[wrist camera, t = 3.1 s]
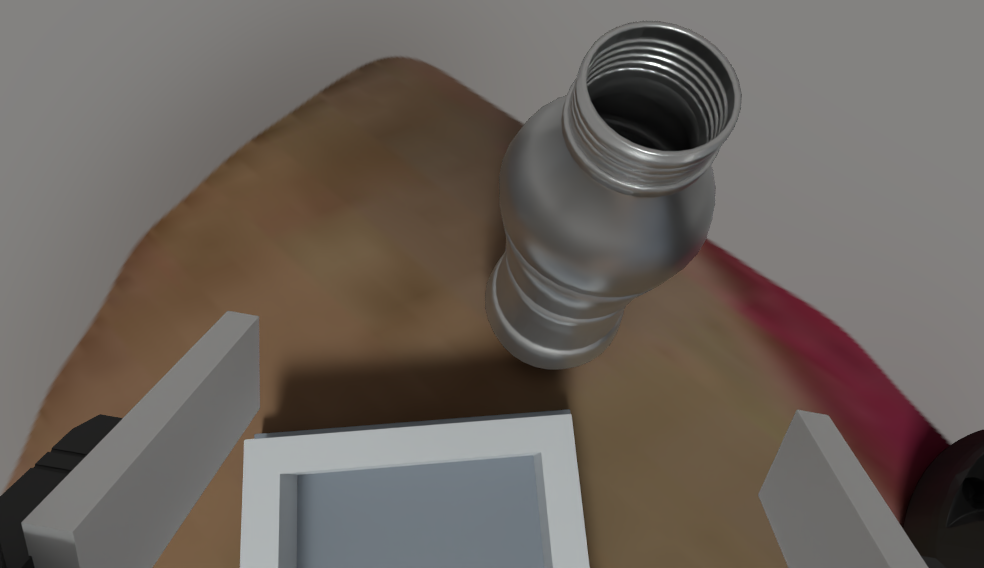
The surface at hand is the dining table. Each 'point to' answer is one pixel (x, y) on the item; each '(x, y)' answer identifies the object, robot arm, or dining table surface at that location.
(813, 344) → the dining table surface
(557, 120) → the plastic bottle
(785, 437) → the robot arm
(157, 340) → the dining table surface
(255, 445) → the light grey square tray
